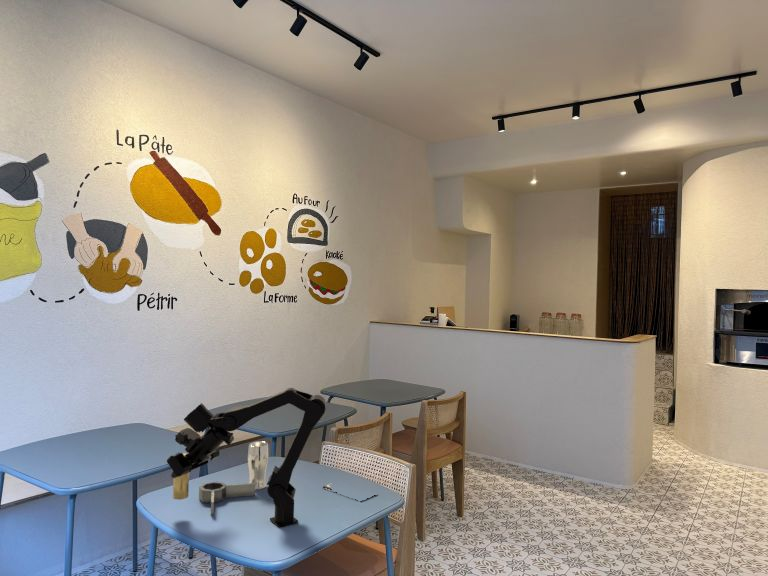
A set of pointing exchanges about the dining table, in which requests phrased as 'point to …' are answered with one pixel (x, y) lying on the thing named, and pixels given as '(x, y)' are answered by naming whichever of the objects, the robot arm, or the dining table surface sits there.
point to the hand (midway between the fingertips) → (177, 474)
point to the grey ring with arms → (223, 492)
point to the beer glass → (258, 463)
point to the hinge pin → (181, 486)
